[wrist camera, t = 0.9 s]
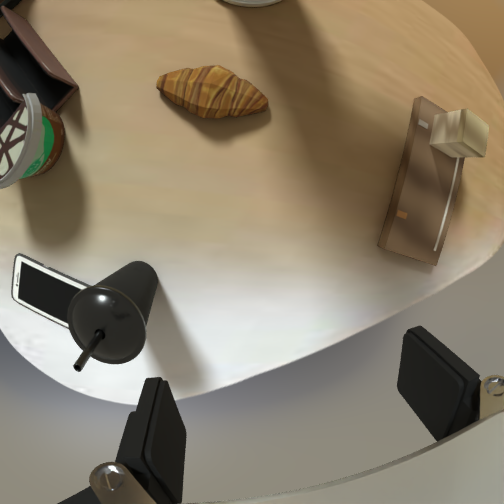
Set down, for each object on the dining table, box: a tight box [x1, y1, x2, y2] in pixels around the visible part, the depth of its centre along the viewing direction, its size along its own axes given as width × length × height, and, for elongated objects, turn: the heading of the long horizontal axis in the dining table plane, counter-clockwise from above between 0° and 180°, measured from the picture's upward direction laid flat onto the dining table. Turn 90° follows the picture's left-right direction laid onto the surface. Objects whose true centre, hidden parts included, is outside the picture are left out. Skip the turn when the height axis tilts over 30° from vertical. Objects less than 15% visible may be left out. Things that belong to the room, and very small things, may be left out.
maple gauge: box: [430, 109, 489, 157], centre depth 31 cm, size 5×5×7 cm
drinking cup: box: [67, 261, 158, 372], centre depth 28 cm, size 8×8×20 cm
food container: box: [0, 93, 65, 189], centre depth 27 cm, size 12×6×10 cm, turn 129°
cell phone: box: [11, 253, 90, 329], centre depth 36 cm, size 8×15×1 cm, turn 68°
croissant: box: [157, 65, 268, 118], centre depth 31 cm, size 14×7×5 cm, turn 76°
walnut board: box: [378, 96, 465, 266], centre depth 37 cm, size 22×10×2 cm, turn 164°
